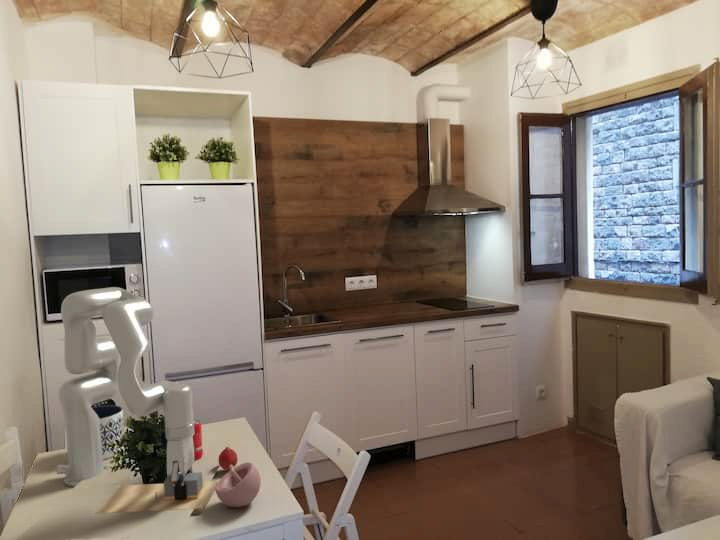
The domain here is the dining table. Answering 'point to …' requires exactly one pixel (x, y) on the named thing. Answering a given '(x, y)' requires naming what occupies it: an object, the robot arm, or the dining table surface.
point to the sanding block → (192, 485)
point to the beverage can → (197, 440)
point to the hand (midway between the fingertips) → (184, 493)
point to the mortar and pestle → (239, 485)
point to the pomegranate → (227, 458)
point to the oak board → (154, 499)
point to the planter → (110, 427)
